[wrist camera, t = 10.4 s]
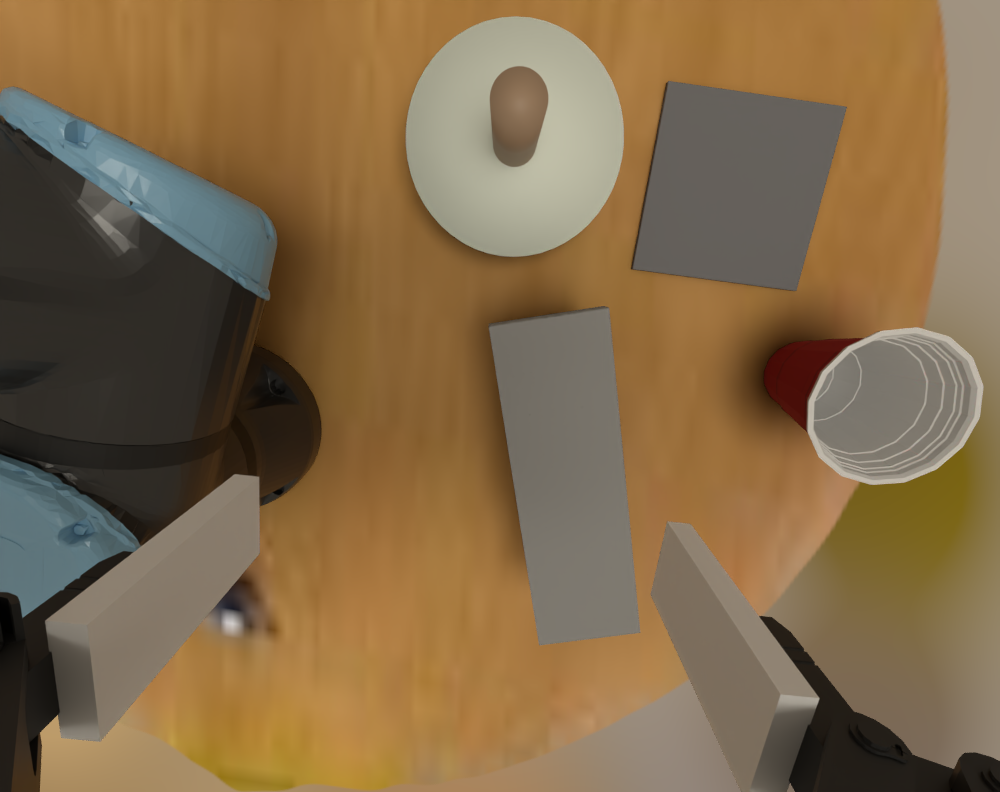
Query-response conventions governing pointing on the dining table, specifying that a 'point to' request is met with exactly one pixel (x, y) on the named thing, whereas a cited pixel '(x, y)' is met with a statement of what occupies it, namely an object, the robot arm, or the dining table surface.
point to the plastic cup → (879, 400)
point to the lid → (514, 136)
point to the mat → (735, 185)
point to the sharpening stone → (568, 471)
